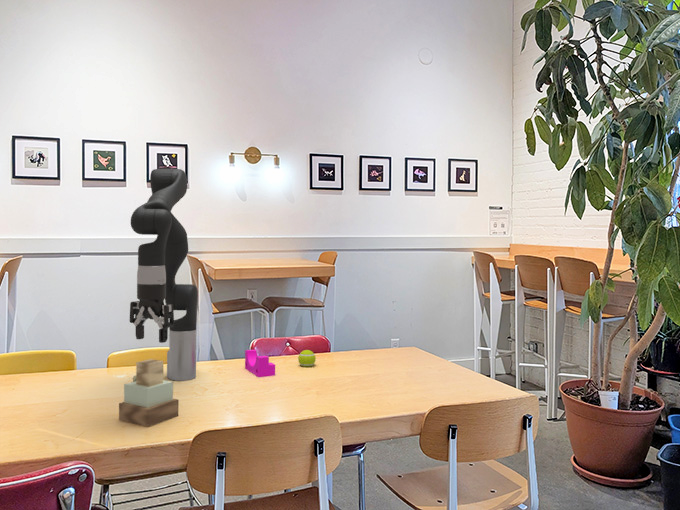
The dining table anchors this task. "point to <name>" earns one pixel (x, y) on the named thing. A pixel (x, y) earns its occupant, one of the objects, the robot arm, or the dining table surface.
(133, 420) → the tower base
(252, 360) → the toy block
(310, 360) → the tennis ball
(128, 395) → the pale green square block
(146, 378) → the oak block
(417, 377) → the dining table surface
